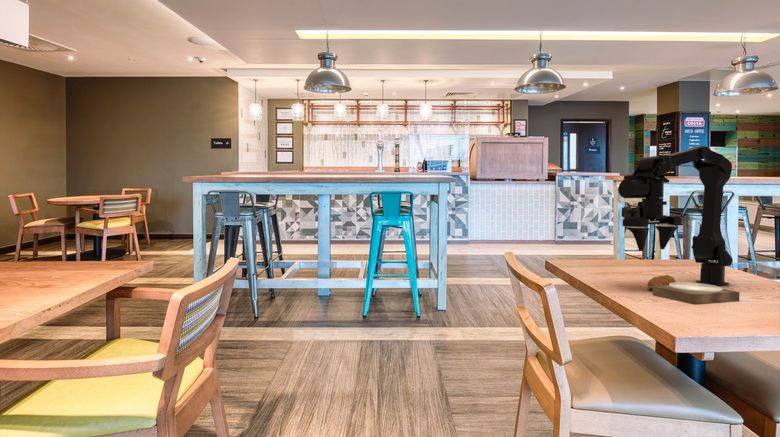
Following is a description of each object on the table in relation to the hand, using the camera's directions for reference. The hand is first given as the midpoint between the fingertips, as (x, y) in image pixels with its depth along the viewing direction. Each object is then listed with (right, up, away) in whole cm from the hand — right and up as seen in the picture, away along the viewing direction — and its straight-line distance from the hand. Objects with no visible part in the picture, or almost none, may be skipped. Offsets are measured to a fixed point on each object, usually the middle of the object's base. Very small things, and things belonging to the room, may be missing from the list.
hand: (651, 249), depth 143 cm
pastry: (0, -13, +1) cm, 13 cm away
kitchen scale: (+5, -12, -12) cm, 18 cm away
